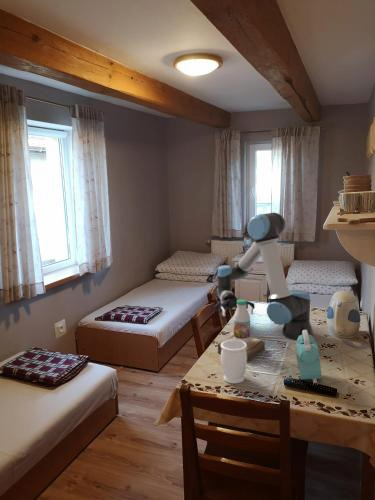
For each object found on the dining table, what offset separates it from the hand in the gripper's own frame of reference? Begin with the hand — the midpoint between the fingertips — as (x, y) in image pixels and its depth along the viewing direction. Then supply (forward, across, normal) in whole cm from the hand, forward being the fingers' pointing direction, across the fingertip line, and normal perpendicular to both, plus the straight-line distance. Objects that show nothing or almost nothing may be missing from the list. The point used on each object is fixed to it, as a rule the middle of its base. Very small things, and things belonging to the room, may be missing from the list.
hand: (238, 312), depth 187 cm
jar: (+29, +9, -18) cm, 35 cm away
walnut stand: (+5, 0, -18) cm, 18 cm away
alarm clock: (+34, -20, -18) cm, 43 cm away
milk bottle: (+5, -1, -13) cm, 14 cm away
